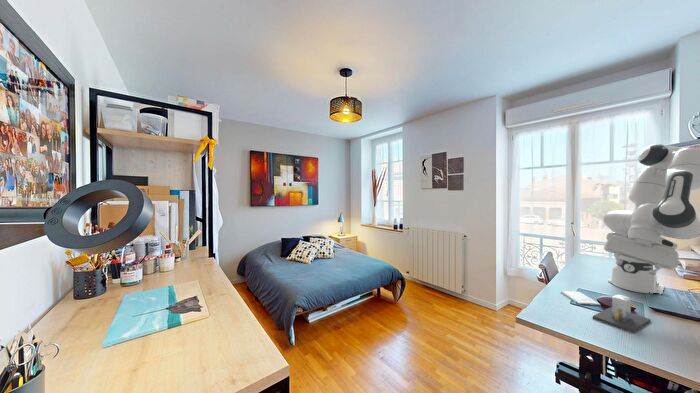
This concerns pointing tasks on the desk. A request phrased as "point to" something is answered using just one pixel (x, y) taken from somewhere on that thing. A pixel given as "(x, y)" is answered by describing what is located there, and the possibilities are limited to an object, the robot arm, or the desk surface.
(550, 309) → the desk surface
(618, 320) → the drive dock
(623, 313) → the clear tall piece
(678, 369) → the desk surface
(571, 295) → the external hard drive
